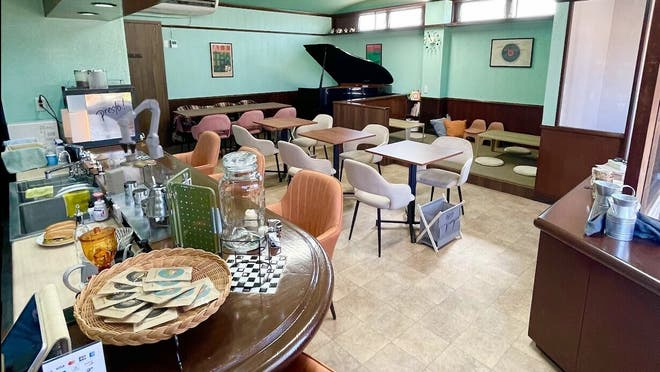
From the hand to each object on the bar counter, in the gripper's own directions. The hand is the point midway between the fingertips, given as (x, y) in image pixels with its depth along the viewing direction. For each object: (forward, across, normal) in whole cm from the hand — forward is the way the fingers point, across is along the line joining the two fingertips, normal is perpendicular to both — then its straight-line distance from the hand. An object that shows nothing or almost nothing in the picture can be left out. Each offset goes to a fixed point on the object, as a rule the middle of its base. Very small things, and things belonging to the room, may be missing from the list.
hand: (129, 153), depth 294 cm
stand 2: (+8, +14, 0) cm, 16 cm away
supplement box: (+8, +51, -50) cm, 72 cm away
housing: (+6, 0, 0) cm, 6 cm away
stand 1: (+8, 0, 0) cm, 8 cm away
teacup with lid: (+8, -2, -19) cm, 21 cm away
